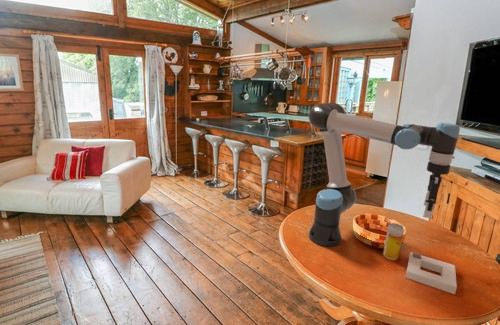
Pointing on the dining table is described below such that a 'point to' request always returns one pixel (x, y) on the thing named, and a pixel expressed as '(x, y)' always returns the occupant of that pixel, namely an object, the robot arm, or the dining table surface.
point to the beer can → (393, 241)
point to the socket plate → (441, 282)
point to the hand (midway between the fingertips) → (427, 211)
